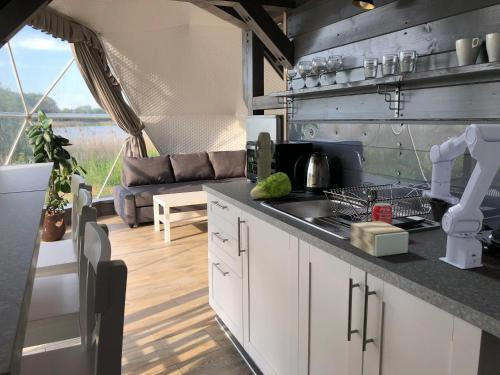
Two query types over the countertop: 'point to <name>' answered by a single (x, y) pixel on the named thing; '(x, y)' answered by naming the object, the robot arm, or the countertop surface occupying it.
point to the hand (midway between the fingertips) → (438, 221)
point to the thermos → (264, 155)
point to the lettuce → (272, 187)
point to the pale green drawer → (391, 244)
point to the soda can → (382, 213)
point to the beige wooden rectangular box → (370, 234)
